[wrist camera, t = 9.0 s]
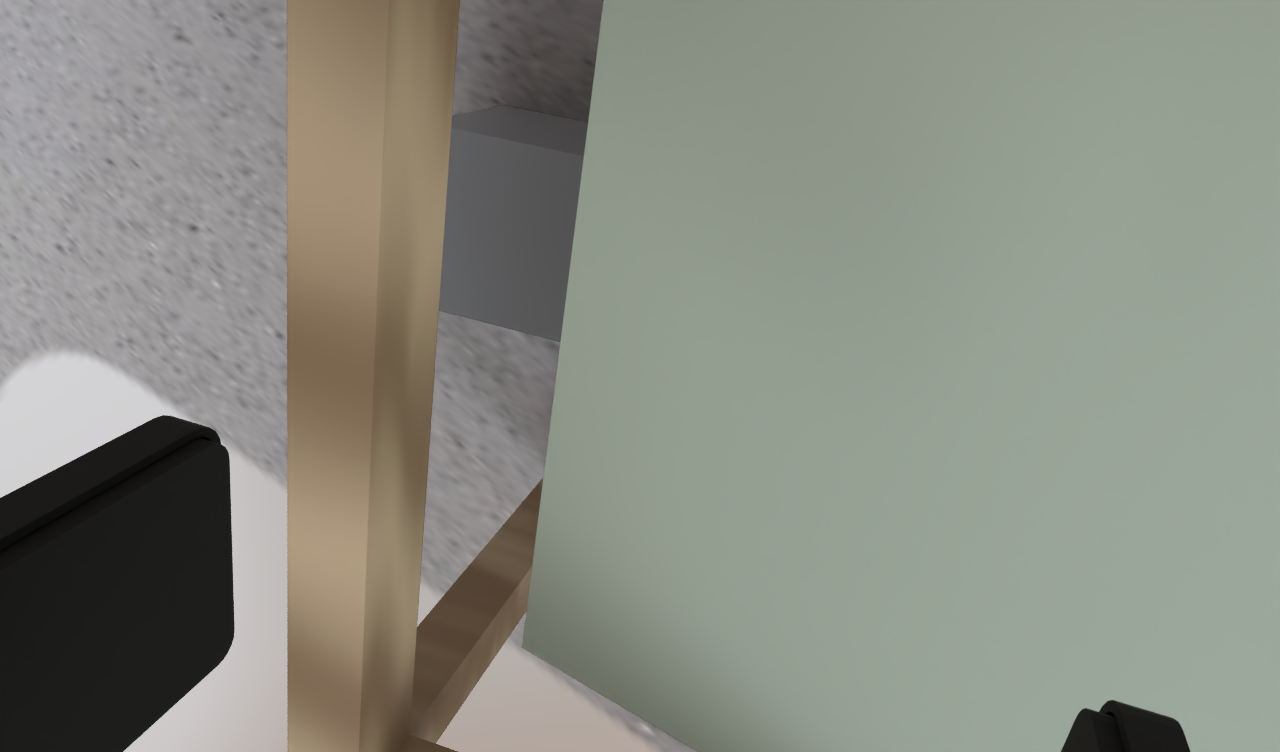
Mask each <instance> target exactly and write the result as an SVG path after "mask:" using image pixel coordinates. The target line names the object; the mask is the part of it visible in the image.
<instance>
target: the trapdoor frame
mask: <svg viewBox="0 0 1280 752" xmlns="http://www.w3.org/2000/svg"><path fill="white" fill-rule="evenodd" d="M459 7H460V0H287V428H288V752H457V751H454V750H451V749H449V748H446V747H443V746H440V745H438V744H436V742H437V741H438V739H439V738H440V736H441V735H442V733H443V732H444V730H445V729H446V728H447V726H448V725H449V723H450V721H451V720H452V719H453V717H454V716H455V714H456V713H457V712H458V710H459V709H460V707H461V706H462V704H463V702H464V701H465V700H466V698H467V697H468V695H469V694H470V692H471V691H472V690H473V688H474V687H475V685H476V684H477V682H478V681H479V679H480V678H481V676H482V675H483V673H484V672H485V671H486V669H487V667H488V666H489V664H490V663H491V662H492V660H493V659H494V657H495V656H496V654H497V653H498V652H499V650H500V649H501V647H502V646H503V644H504V643H505V641H506V640H507V638H508V637H509V635H510V634H511V632H512V631H513V630H514V628H515V627H516V625H517V624H518V622H519V621H520V619H521V618H522V616H523V615H524V613H525V612H526V611H527V604H528V596H529V588H530V580H531V572H532V564H533V556H534V548H535V540H536V532H537V524H538V516H539V508H540V501H541V493H542V485H543V479H542V480H541V481H540V482H539V483H538V485H537V486H536V487H535V488H534V489H533V490H532V492H531V493H530V494H529V495H528V496H527V498H526V499H525V500H524V501H523V502H522V504H521V505H520V506H519V507H518V508H517V509H516V511H515V512H514V513H513V514H512V515H511V517H510V518H509V519H508V520H507V521H506V522H505V524H504V525H503V526H502V527H501V528H500V530H499V531H498V532H497V533H496V534H495V536H494V537H493V538H492V539H491V540H490V541H489V543H488V544H487V545H486V546H485V547H484V549H483V550H482V551H481V552H480V553H479V555H478V556H477V557H476V558H475V559H474V560H473V562H472V563H471V564H470V565H469V566H468V568H467V569H466V570H465V571H464V572H463V573H462V575H461V576H460V577H459V578H458V579H457V581H456V582H455V583H454V584H453V585H452V587H451V588H450V589H449V590H448V591H447V592H446V594H445V595H444V596H443V597H442V598H441V600H440V601H439V602H438V603H437V604H436V606H435V607H434V608H433V609H432V610H431V611H430V613H429V614H428V615H427V616H426V617H425V619H424V620H423V621H422V622H421V623H420V624H419V626H418V627H417V620H418V619H417V618H418V604H419V591H420V576H421V561H422V547H423V532H424V518H425V503H426V488H427V474H428V459H429V445H430V430H431V415H432V401H433V386H434V372H435V357H436V342H437V328H438V313H439V299H440V284H441V270H442V255H443V240H444V226H445V211H446V197H447V182H448V167H449V153H450V138H451V124H452V109H453V94H454V80H455V65H456V51H457V36H458V21H459Z"/></svg>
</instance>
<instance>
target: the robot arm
mask: <svg viewBox="0 0 1280 752" xmlns="http://www.w3.org/2000/svg"><path fill="white" fill-rule="evenodd" d="M233 638H234V601H233V567H232V535H231V499H230V465H229V454H228V451H227V449H226V448H225V447H224V446H223V445H221V442H220V438H219V436H218V434H217V433H216V431H214V430H213V429H211V428H209V427H206V426H202V425H199V424H196V423H192V422H189V421H186V420H182V419H179V418H176V417H172V416H164V415H163V416H160V417H157V418H154V419H152V420H150V421H148V422H146V423H144V424H143V425H141V426H139V427H137V428H135V429H133V430H131V431H129V432H127V433H125V434H123V435H121V436H119V437H117V438H115V439H114V440H112V441H110V442H108V443H106V444H104V445H102V446H100V447H98V448H96V449H94V450H92V451H90V452H88V453H86V454H85V455H83V456H81V457H79V458H77V459H75V460H73V461H71V462H69V463H67V464H65V465H63V466H61V467H59V468H58V469H56V470H54V471H52V472H50V473H48V474H46V475H44V476H42V477H40V478H38V479H37V480H34V481H32V482H30V483H29V484H27V485H25V486H23V487H21V488H19V489H17V490H15V491H13V492H11V493H9V494H8V495H5V496H3V497H2V498H0V752H123V751H124V750H125V749H126V748H127V747H128V746H130V745H131V744H132V743H133V742H134V741H135V740H136V739H137V738H138V737H140V736H141V735H142V734H143V733H144V732H145V731H146V730H147V729H148V728H149V727H151V725H153V724H154V723H155V722H156V721H157V720H158V719H159V718H160V717H162V716H163V715H164V714H165V713H166V712H167V711H168V710H169V709H170V708H171V707H172V706H173V705H175V704H176V703H177V702H178V701H179V700H180V699H181V698H182V697H184V696H185V695H186V694H187V693H188V692H189V691H190V690H191V689H192V688H193V687H194V686H196V685H197V684H198V683H199V682H200V681H201V680H202V679H203V678H204V677H205V676H207V675H208V674H209V673H210V672H211V671H212V670H213V669H214V668H215V667H217V666H218V665H219V663H220V662H221V661H222V660H223V659H224V657H225V656H226V654H227V653H228V651H229V649H230V647H231V644H232V641H233ZM1061 752H1190V749H1189V746H1188V743H1187V740H1186V737H1185V734H1184V731H1183V729H1182V727H1181V725H1180V723H1179V722H1178V721H1177V720H1175V719H1174V718H1171V717H1168V716H1165V715H1161V714H1158V713H1155V712H1151V711H1148V710H1145V709H1141V708H1138V707H1135V706H1131V705H1128V704H1125V703H1121V702H1118V701H1115V700H1110V701H1107V702H1106V703H1105V704H1104V705H1103V706H1102V707H1101V709H1100V711H1099V712H1097V711H1094V710H1091V709H1087V708H1085V709H1082V710H1081V711H1080V712H1079V713H1078V715H1077V717H1076V719H1075V721H1074V723H1073V725H1072V728H1071V730H1070V732H1069V734H1068V737H1067V739H1066V741H1065V743H1064V746H1063V748H1062V750H1061Z"/></svg>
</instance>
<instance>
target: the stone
mask: <svg viewBox="0 0 1280 752" xmlns="http://www.w3.org/2000/svg"><path fill="white" fill-rule="evenodd" d="M587 128H588V123H587V122H582V121H577V120H573V119H568V118H563V117H558V116H553V115H548V114H544V113H539V112H534V111H529V110H524V109H519V108H514V107H510V106H505V105H501V106H496V107H492V108H487V109H482V110H478V111H473V112H469V113H464V114H459V115H455V116H452V124H451V138H450V153H449V167H448V182H447V197H446V211H445V226H444V240H443V255H442V270H441V284H440V299H439V311H442V312H446V313H450V314H454V315H458V316H462V317H466V318H469V319H473V320H477V321H481V322H485V323H489V324H493V325H497V326H500V327H504V328H508V329H512V330H516V331H520V332H524V333H527V334H531V335H535V336H539V337H543V338H547V339H551V340H555V341H558V342H561V334H562V326H563V318H564V310H565V302H566V294H567V286H568V278H569V270H570V263H571V255H572V247H573V239H574V231H575V223H576V215H577V207H578V199H579V191H580V183H581V175H582V167H583V159H584V151H585V144H586V136H587Z"/></svg>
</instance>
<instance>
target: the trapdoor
mask: <svg viewBox="0 0 1280 752" xmlns="http://www.w3.org/2000/svg"><path fill="white" fill-rule="evenodd" d="M522 648H524V649H525V650H527V651H529V652H530V653H532V654H534V655H535V656H537V657H539V658H541V659H542V660H544V661H546V662H547V663H549V664H551V665H552V666H554V667H556V668H557V669H559V670H561V671H562V672H564V673H566V674H567V675H569V676H571V677H572V678H574V679H576V680H578V681H579V682H581V683H583V684H584V685H586V686H588V687H589V688H591V689H593V690H594V691H596V692H598V693H599V694H601V695H603V696H604V697H606V698H608V699H610V700H611V701H613V702H615V703H616V704H618V705H620V706H621V707H623V708H625V709H626V710H628V711H630V712H631V713H633V714H635V715H636V716H638V717H640V718H641V719H643V720H645V721H647V722H648V723H650V724H652V725H653V726H655V727H657V728H658V729H660V730H662V731H663V732H665V733H667V734H668V735H670V736H672V737H673V738H675V739H677V740H679V741H680V742H682V743H684V744H685V745H687V746H689V747H690V748H692V749H694V750H695V751H697V752H1061V750H1062V748H1063V746H1064V743H1065V741H1066V739H1067V737H1068V734H1069V732H1070V730H1071V728H1072V725H1073V723H1074V721H1075V719H1076V717H1077V715H1078V713H1079V712H1080V711H1081V710H1082V709H1085V708H1087V709H1091V710H1094V711H1097V712H1099V711H1100V709H1101V707H1102V706H1103V705H1104V704H1105V703H1106V702H1107V701H1110V700H1115V701H1118V702H1121V703H1125V704H1128V705H1131V706H1135V707H1138V708H1141V709H1145V710H1148V711H1151V712H1155V713H1158V714H1161V715H1165V716H1168V717H1171V718H1174V719H1175V720H1177V721H1178V722H1179V723H1180V725H1181V727H1182V729H1183V731H1184V734H1185V737H1186V740H1187V743H1188V746H1189V749H1190V752H1280V0H604V1H603V9H602V17H601V25H600V32H599V40H598V48H597V56H596V64H595V72H594V80H593V88H592V96H591V104H590V112H589V120H588V128H587V136H586V144H585V151H584V159H583V167H582V175H581V183H580V191H579V199H578V207H577V215H576V223H575V231H574V239H573V247H572V255H571V263H570V270H569V278H568V286H567V294H566V302H565V310H564V318H563V326H562V334H561V342H560V350H559V358H558V366H557V374H556V382H555V389H554V397H553V405H552V413H551V421H550V429H549V437H548V445H547V453H546V461H545V469H544V477H543V485H542V493H541V501H540V508H539V516H538V524H537V532H536V540H535V548H534V556H533V564H532V572H531V580H530V588H529V596H528V604H527V612H526V620H525V627H524V635H523V643H522Z"/></svg>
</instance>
